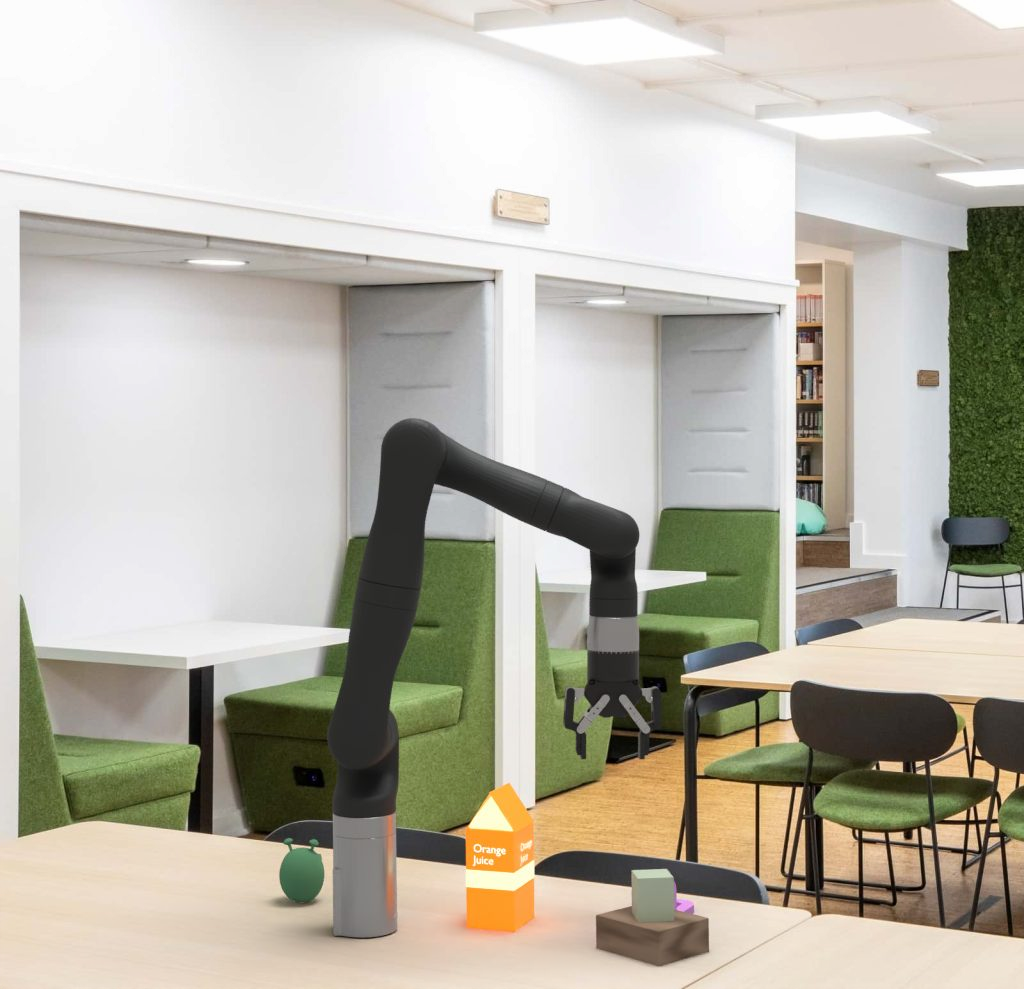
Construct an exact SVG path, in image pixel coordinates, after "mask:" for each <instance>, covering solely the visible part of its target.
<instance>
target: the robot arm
mask: <svg viewBox="0 0 1024 989" xmlns="http://www.w3.org/2000/svg"><path fill="white" fill-rule="evenodd" d="M380 446H381V447H380V463H379V464H380V465H379V467H380V468H379V480H378V491H377V500H376V507H375V513H374V517H373V520H372V524H371V527H370V529H369V533H368V536H367V539H366V544H365V547H364V550H363V555H362V560H361V565H360V569H359V573H358V579H357V583H356V587H355V592H354V593H355V594H354V599H353V606H352V613H351V618H350V625H349V626H350V627H349V633H348V640H347V641H348V642H347V651H346V661H345V667H344V672H343V676H342V679H341V680H342V681H341V683H340V687H339V691H338V694H337V698H336V702H335V705H334V709H333V711H332V714H331V718H330V722H329V723H328V724H329V725H328V728H327V736H326V737H327V745H328V749H329V752H330V754H331V756H332V757H333V759H334V761H336V762H337V775H336V783H335V787H334V791H333V793H332V853H333V854H332V856H333V857H332V858H333V859H332V860H333V862H332V864H333V865H332V921H333V922H332V924H333V925H332V926H333V927H332V930H333V934H332V935H333V936H334V937H335V936H342V937H347V938H348V937H350V938H373V937H374V938H376V937H382V936H386V935H389V934H392V933H394V932H396V930H398V885H397V884H398V882H397V881H398V880H397V876H398V875H397V872H398V871H397V867H398V866H397V795H398V789H399V782H400V781H399V780H400V776H399V775H400V733H399V725H398V721H397V719H396V716H395V714H394V713H393V712H392V710H391V709H390V708H391V699H392V693H393V692H392V690H393V687H394V680H395V677H396V672H397V669H398V667H399V664H400V661H401V659H402V657H403V655H404V651H405V650H406V647H407V644H408V641H409V638H410V635H411V633H412V630H413V626H414V624H415V623H414V622H415V620H416V616H417V612H418V607H419V600H420V596H421V590H422V589H421V588H422V583H423V576H424V575H423V574H424V568H425V567H424V566H425V565H424V564H425V544H426V543H425V536H426V535H425V533H426V531H425V530H426V521H427V515H428V514H427V513H428V510H429V505H430V501H431V498H432V495H433V491H434V487H435V485H436V486H440V487H445V488H447V489H451V490H454V491H457V492H460V493H463V494H465V495H467V496H469V497H473V498H474V499H477V500H479V501H481V502H482V503H484V504H486V505H488V506H491V507H492V508H494V509H496V510H498V511H500V512H502V513H503V514H505V515H508V516H510V517H512V518H514V519H516V520H518V521H520V522H523V523H524V524H527V525H529V526H531V527H535V528H536V529H538V530H541V531H544V532H546V533H548V534H551V535H554V536H558V537H562V538H565V539H567V540H569V541H571V542H573V543H574V544H577V545H579V546H580V547H581V546H582V548H583V547H584V548H585V549H587V550H589V561H590V562H589V564H590V565H589V566H590V585H589V595H588V596H589V597H588V598H589V599H588V600H589V602H588V603H589V606H588V608H589V609H588V610H589V611H588V613H589V616H588V626H587V638H586V647H587V651H586V652H587V655H586V659H587V660H586V663H587V664H586V666H587V668H586V669H587V670H586V685H585V687H583V688H582V687H581V688H580V687H573V686H571V685H568V686H566V687H565V691H564V705H563V707H564V708H563V720H562V724H563V727H564V728H565V729H566V730H570V731H573V732H574V733H575V752H576V755H577V756H579V758H580V760H586V759H587V733H586V730H587V729H588V728H589V727H590V725H591V724H592V723H593V722H594V721H595V720H596V719H597V717H598V716H599V717H602V718H606V719H607V718H611V717H615V718H619V719H621V718H625V717H627V716H628V715H629V716H630V718H632V720H633V721H634V723H635V724H636V725H637V727H638V728H639V731H638V732H637V734H638V736H637V744H638V745H637V757H638V759H639V760H645V759H646V756H649V754H650V734H651V733H652V732H654V731H655V730H661V729H662V728H663V709H662V708H663V707H662V693H661V692H662V691H661V690H660V688H659V687H657V686H654V685H653V686H651V687H647V688H642V687H641V685H640V630H639V629H640V628H639V620H638V619H639V618H638V603H639V602H638V601H639V600H638V599H639V598H638V594H639V593H638V585H637V580H636V558H637V557H636V554H637V552H636V550H637V549H636V548H637V547H638V545H639V540H640V529H639V526H638V524H637V521H636V520H635V519H634V518H633V516H632V515H630V514H628V513H627V512H625V511H622V510H620V509H617V508H614V507H611V506H609V505H606V504H603V503H600V502H597V501H595V500H592V499H589V498H586V497H584V496H581V495H580V494H579V493H577V492H575V491H573V490H572V489H569V488H567V487H564V486H562V485H561V484H557V483H555V482H553V481H551V480H548V479H547V478H543V477H541V476H538V475H536V474H533V473H531V472H528V471H524V470H522V469H519V468H518V467H517V468H516V467H514V466H511V465H508V464H506V463H502V462H499V461H496V460H494V459H491V458H489V457H487V456H485V455H482V454H480V453H478V452H476V451H474V450H472V449H470V448H468V447H466V446H465V445H463V444H461V443H459V442H458V441H457V440H455V439H453V438H451V437H450V436H448V435H447V434H445V433H444V432H442V431H441V430H440V429H439V428H438V427H437V426H436V425H435V424H433V423H432V422H430V421H427V420H425V419H421V418H417V417H416V418H415V417H412V418H411V417H410V418H405V419H402V420H399V421H398V422H396V423H394V424H393V425H392V426H390V427H389V429H388V430H387V431H386V433H384V437H383V438H382V442H381V445H380ZM583 696H584V698H585V699H586V701H587V702H588V703H589V706H588V708H587V709H586V710H585V712H584V713H583V715H582V717H581V718H580V719H579V720H578V721H574V716H575V712H574V711H575V704H577V703H579V702H580V700H581V697H583ZM642 696H643V697H645V700H646V701H647V703H649V704H650V709H651V710H650V711H651V720H649V721H647V722H646V721H645V719H644V718H643V715H641V714H640V712H639V711H638V710H637V709H636V705H637V704H638V702H639V701H640V700H641V699H642Z"/></svg>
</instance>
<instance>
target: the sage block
mask: <svg viewBox="0 0 1024 989" xmlns="http://www.w3.org/2000/svg"><path fill="white" fill-rule="evenodd" d="M630 872H631V906H632V914H633V915H634V917H635V918H636V920H637V921H638V922H660V921H674V882H675V880H674V878H675V877H674V876H673V875H672V874H671V872H670V871H669V870H668V868H660V869H659V868H658V869H657V868H653V869H650V868H649V869H633V870H632V869H631V870H630Z"/></svg>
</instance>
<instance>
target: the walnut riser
mask: <svg viewBox="0 0 1024 989" xmlns="http://www.w3.org/2000/svg"><path fill="white" fill-rule="evenodd" d="M709 921H710V920H709V917H705V916H702V915H698V914H695V913H694V914H690V913H686V912H682V911H678V910H674V921H660V922H638V921H637V920H636V918H635V917H634V915H633V914H632V905H631V906H627V907H622V908H618V909H614V910H610V911H605V912H603V913H599V914H595V939H596V940H595V941H596V944H595V948H596V949H598V950H601V951H604V952H607V953H610V954H611V953H612V954H616V955H617V956H618V955H619V956H622V957H625V958H628V959H631V960H635V961H638V962H639V961H640V962H643V963H646V964H650V965H653V966H656V967H662V966H666V965H669V964H673V963H676V962H679V961H682V960H686V959H687V960H688V959H689V958H693V957H696V956H700V955H703V954H706V953H709V952H710V932H709V930H710V928H709V924H710V923H709Z"/></svg>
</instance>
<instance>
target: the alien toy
mask: <svg viewBox="0 0 1024 989" xmlns="http://www.w3.org/2000/svg"><path fill="white" fill-rule="evenodd" d="M293 842H294V839H293V838H290V837H288V838H285V839H284V841H283V842H282V843H283V845H284V846H285V845H286V846H288V850H289V851H288V852H287V853H286V854H285V855H284V858H283V859H282V861H281V863H280V867H279V873H278V874H279V875H278V877H279V878H278V879H279V885H280V887H281V889H282V893H284V895H285V896H286V897H287V899H289V900H291V901H292V902H294V901H295V902H294V903H298V902H305V903H308V901H309V902H312V900H315V898H317V897H318V895H319V894H320V893H321V891H322V888H323V885H324V881H325V867H324V862H323V858H322V854H321V853H318V852H316V851H315V850H314V848H315V847H318V846H319V845H320V844H319V841H318V840H317V839H314V838H313V839H310V840H309V844H310V845H311V846H310V848H308V847H296V848H293V847H292V843H293Z"/></svg>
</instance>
